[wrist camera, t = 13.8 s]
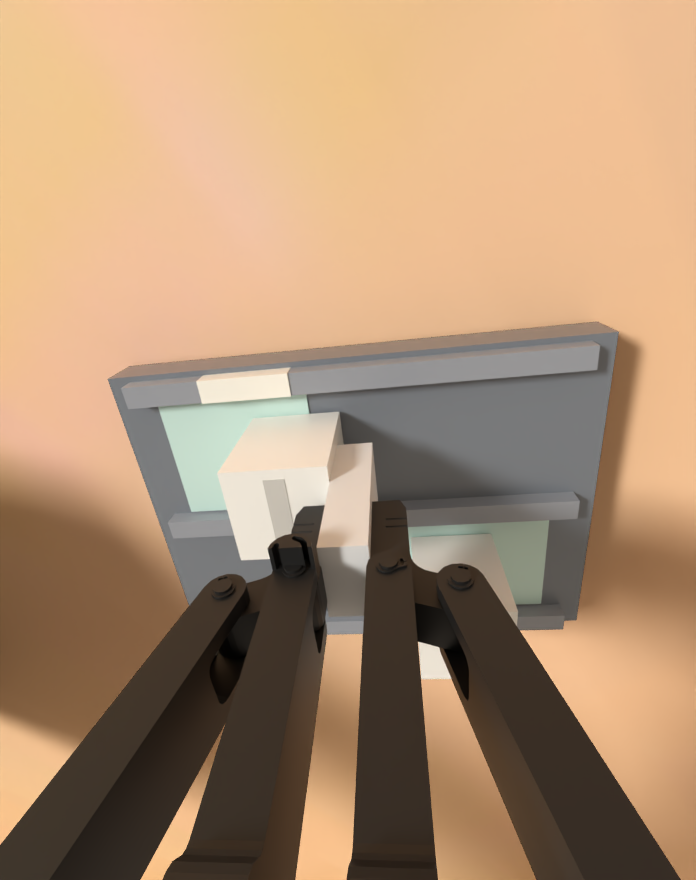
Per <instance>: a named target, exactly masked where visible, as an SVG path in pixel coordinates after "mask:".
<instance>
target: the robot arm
mask: <svg viewBox="0 0 696 880" xmlns="http://www.w3.org/2000/svg"><path fill="white" fill-rule="evenodd" d="M293 525H294V526H293V528H292V531H291V534H288V535H284V536H281V537H279V538H277V539H276V540H274V541H273V542H272V543H271V544H270V545H269V547H268V553H269V557H270V562H271V566H272V570H273V571H272V574H271V575H269V576H267V577H265V578H262V579H259V580H256V581H252V582H249V583H246V580H245V579H244V578H243V577H242V576H240V575H237V574H226V575H222V576H219V577H217V578H215V579H213V580H211V581H210V582H209V583H208V584H207V585H206V586H205V587H204V588H203V589H202V590H201V592H200V593H199V594H198V595H197V597H196V598H195V599H194V601H193V602H192V603H191V604H190V606H189V607H188V608H187V609H186V611H185V612H184V613H183V614H182V616H181V617H180V618H179V620H178V621H177V622H176V623H175V625H174V626H173V627H172V628H171V630H170V631H169V632H168V633H167V635H166V636H165V637H164V639H163V640H162V641H161V642H160V644H159V645H158V646H157V647H156V649H155V650H154V651H153V652H152V654H151V655H150V656H149V658H148V659H147V660H146V661H145V663H144V664H143V665H142V666H141V668H140V669H139V670H138V671H137V673H136V674H135V675H134V676H133V678H132V679H131V680H130V682H129V683H128V684H127V685H126V687H125V688H124V689H123V690H122V692H121V693H120V694H119V695H118V697H117V698H116V699H115V701H114V702H113V703H112V704H111V706H110V707H109V708H108V709H107V711H106V712H105V713H104V714H103V716H102V717H101V718H100V720H99V721H98V722H97V723H96V725H95V726H94V727H93V728H92V730H91V731H90V732H89V733H88V735H87V736H86V737H85V739H84V740H83V741H82V742H81V744H80V745H79V746H78V747H77V749H76V750H75V751H74V752H73V754H72V755H71V756H70V757H69V759H68V760H67V761H66V763H65V764H64V765H63V766H62V768H61V769H60V770H59V771H58V773H57V774H56V775H55V776H54V778H53V779H52V780H51V782H50V783H49V784H48V785H47V787H46V788H45V789H44V790H43V792H42V793H41V794H40V795H39V797H38V798H37V799H36V801H35V802H34V803H33V804H32V806H31V807H30V808H29V809H28V811H27V812H26V813H25V814H24V816H23V817H22V818H21V820H20V821H19V822H18V823H17V825H16V826H15V827H14V828H13V830H12V831H11V832H10V833H9V835H8V836H7V837H6V839H5V840H4V841H3V842H2V844H1V845H0V880H140V879H141V878H142V876H143V874H144V872H145V870H146V868H147V866H148V865H149V863H150V861H151V859H152V857H153V855H154V854H155V852H156V850H157V848H158V846H159V844H160V842H161V841H162V839H163V837H164V835H165V833H166V831H167V830H168V828H169V826H170V824H171V822H172V820H173V818H174V817H175V815H176V813H177V811H178V809H179V807H180V806H181V804H182V802H183V800H184V798H185V796H186V795H187V793H188V791H189V789H190V787H191V785H192V783H193V782H194V780H195V778H196V776H197V774H198V772H199V771H200V769H201V767H202V765H203V763H204V761H205V759H206V758H207V756H208V754H209V752H210V750H211V748H212V747H213V745H214V743H215V741H216V739H217V737H218V736H219V734H220V732H221V730H222V728H223V726H224V724H225V727H224V730H223V733H222V736H221V740H220V743H219V746H218V749H217V753H216V756H215V759H214V762H213V766H212V769H211V772H210V775H209V779H208V782H207V785H206V788H205V792H204V795H203V798H202V801H201V805H200V808H199V811H198V814H197V817H196V821H195V824H194V827H193V830H192V834H191V837H190V840H189V843H188V845H187V848H186V850H185V851H184V853H183V855H181V856H180V857H178V858H177V859H175V860H174V861H172V863H171V865H170V866H169V868H168V869H167V871H166V873H165V875H164V878H163V880H295V877H296V869H297V861H298V854H299V846H300V838H301V830H302V823H303V815H304V807H305V799H306V792H307V784H308V776H309V769H310V761H311V753H312V745H313V738H314V730H315V722H316V714H317V707H318V699H319V691H320V683H321V676H322V668H323V660H324V653H325V645H326V637H327V625H326V619H325V616H326V609H328V615H329V617H341V616H364V624H363V645H362V666H361V687H360V708H359V729H358V750H357V772H356V793H355V814H354V835H353V852H352V859H351V862H350V864H349V867H348V874H347V880H438V876H437V866H436V856H435V845H434V833H433V820H432V808H431V796H430V784H429V772H428V760H427V748H426V736H425V724H424V712H423V700H422V688H421V676H420V664H419V652H418V642H421V643H425V644H429V645H432V646H436V647H439V648H440V653H441V655H442V657H443V660H444V662H445V664H446V667H447V669H448V672H449V674H450V676H451V679H452V681H453V683H454V686H455V688H456V690H457V693H458V695H459V698H460V700H461V702H462V705H463V707H464V709H465V712H466V714H467V716H468V719H469V721H470V724H471V726H472V728H473V731H474V733H475V735H476V738H477V740H478V742H479V745H480V747H481V750H482V752H483V754H484V757H485V759H486V761H487V764H488V766H489V768H490V771H491V773H492V776H493V778H494V780H495V783H496V785H497V787H498V790H499V792H500V794H501V797H502V799H503V802H504V804H505V806H506V809H507V811H508V813H509V816H510V818H511V820H512V823H513V825H514V828H515V830H516V832H517V835H518V837H519V839H520V842H521V844H522V846H523V849H524V851H525V854H526V856H527V858H528V861H529V863H530V865H531V868H532V870H533V872H534V875H535V877H536V880H681V879H680V878H679V876H678V875H677V873H676V872H675V870H674V868H673V867H672V865H671V864H670V862H669V861H668V859H667V858H666V856H665V855H664V853H663V851H662V850H661V848H660V847H659V845H658V844H657V842H656V841H655V839H654V838H653V836H652V834H651V833H650V831H649V830H648V828H647V827H646V825H645V824H644V822H643V821H642V819H641V817H640V816H639V814H638V813H637V811H636V810H635V808H634V807H633V805H632V804H631V802H630V800H629V799H628V797H627V796H626V794H625V793H624V791H623V790H622V788H621V787H620V785H619V783H618V782H617V780H616V779H615V777H614V776H613V774H612V773H611V771H610V770H609V768H608V766H607V765H606V763H605V762H604V760H603V759H602V757H601V756H600V754H599V753H598V751H597V749H596V748H595V746H594V745H593V743H592V742H591V740H590V739H589V737H588V735H587V734H586V732H585V731H584V729H583V728H582V726H581V725H580V723H579V722H578V720H577V718H576V717H575V715H574V714H573V712H572V711H571V709H570V708H569V706H568V705H567V703H566V701H565V700H564V698H563V697H562V695H561V694H560V692H559V691H558V689H557V688H556V686H555V684H554V683H553V681H552V680H551V678H550V677H549V675H548V674H547V672H546V671H545V669H544V667H543V666H542V664H541V663H540V661H539V660H538V658H537V657H536V655H535V654H534V652H533V650H532V649H531V647H530V646H529V644H528V643H527V641H526V640H525V638H524V637H523V635H522V633H521V632H520V630H519V629H518V627H517V626H516V624H515V623H514V621H513V620H512V618H511V616H510V615H509V613H508V612H507V610H506V609H505V607H504V606H503V604H502V603H501V601H500V599H499V598H498V596H497V595H496V593H495V592H494V590H493V589H492V587H491V586H490V584H489V582H488V581H487V579H486V578H485V576H484V575H483V574H482V573H481V572H480V571H479V570H478V569H477V568H475V567H473V566H471V565H467V564H462V563H458V564H450V565H448V566H445V567H443V568H442V569H441V570H440V571H439V572H438V573H436V572H431V571H428V570H424V569H423V568H421V567H419V566H417V565H416V564H415V563H414V562H413V560H412V559H411V555H410V547H409V535H408V523H407V512H406V507H405V506H404V505H403V503H402V502H401V501H400V500H391V501H378V494H377V484H376V474H375V464H374V454H373V444H372V443H359V444H345V445H337V447H336V452H335V457H334V462H333V467H332V472H331V477H330V482H329V487H328V492H327V497H326V502H325V505H320V506H304V507H303V508H302V509H301V510H300V511H299V512H298V514H297V515H296V517H295V521H294V524H293Z"/></svg>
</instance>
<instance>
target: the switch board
mask: <svg viewBox="0 0 696 880" xmlns="http://www.w3.org/2000/svg"><path fill="white" fill-rule="evenodd" d="M618 333H619V332H618V331H616V330H614V329H612V328H610V327H608V326H605V325H603V324H601V323H599V322H589V323H578V324H568V325H557V326H547V327H536V328H526V329H515V330H505V331H494V332H484V333H473V334H463V335H452V336H442V337H431V338H421V339H410V340H400V341H389V342H379V343H368V344H358V345H347V346H337V347H326V348H316V349H305V350H295V351H284V352H274V353H263V354H253V355H242V356H232V357H221V358H211V359H200V360H190V361H179V362H169V363H158V364H148V365H137V366H129V367H128V368H126V369H124V370H122V371H121V372H119V373H117V374H115V375H114V376H112V377H110V378H109V379H108V381H109V384H110V387H111V390H112V392H113V395H114V398H115V401H116V403H117V406H118V409H119V412H120V415H121V417H122V420H123V423H124V426H125V429H126V431H127V434H128V437H129V440H130V442H131V445H132V448H133V451H134V454H135V456H136V459H137V462H138V465H139V467H140V470H141V473H142V476H143V479H144V481H145V484H146V487H147V490H148V492H149V495H150V498H151V501H152V504H153V506H154V509H155V512H156V515H157V518H158V520H159V523H160V526H161V529H162V531H163V534H164V537H165V540H166V543H167V545H168V548H169V551H170V554H171V556H172V559H173V562H174V565H175V568H176V570H177V573H178V576H179V579H180V581H181V584H182V587H183V590H184V593H185V595H186V598H187V601H188V604H189V606H190V604H191V603H192V602H193V601H194V599H195V598H196V597H197V595H198V594H199V593H200V592H201V590H202V589H203V588H204V587H205V586H206V585H207V584H208V583H209V582H210V581H211V580H213V579H215V578H217V577H219V576H222V575H226V574H237V575H240V576H242V577H243V578H244V579H245V580H246V583H249V582H252V581H256V580H259V579H262V578H265V577H267V576H269V575H271V574H272V571H273V570H272V566H271V562H270V559H261V560H241V558H240V555H239V551H238V547H237V544H236V540H235V537H234V533H233V529H232V526H231V522H230V518H229V515H228V511H227V508H226V504H225V500H224V497H223V493H222V489H221V486H220V482H219V479H218V475H217V473H218V471H219V470H220V468H221V467H222V465H223V464H224V462H225V461H226V459H227V458H228V456H229V454H230V453H231V451H232V450H233V448H234V447H235V445H236V444H237V442H238V441H239V439H240V438H241V436H242V435H243V433H244V432H245V430H246V428H247V427H248V425H249V424H250V422H251V421H252V419H253V418H263V417H276V416H289V415H301V414H314V413H327V412H340V420H341V428H342V435H343V443H344V445H345V444H359V443H372V444H373V454H374V464H375V474H376V484H377V494H378V501H391V500H400V501H401V502H402V503H403V505H404V506H405V507H406V512H407V523H408V535H409V547H410V555H411V559H412V549H411V537H428V536H450V535H471V534H491V535H492V538H493V540H494V543H495V546H496V549H497V552H498V555H499V558H500V561H501V564H502V567H503V569H504V572H505V575H506V578H507V581H508V584H509V587H510V590H511V593H512V596H513V599H514V601H515V604H516V607H517V610H518V619H517V627H518V629H519V630H553V629H563V626H564V621H568V620H576V619H577V612H578V605H579V598H580V592H581V585H582V578H583V571H584V564H585V558H586V551H587V544H588V537H589V530H590V524H591V517H592V510H593V503H594V496H595V490H596V483H597V476H598V469H599V462H600V456H601V449H602V442H603V435H604V428H605V422H606V415H607V408H608V401H609V395H610V388H611V381H612V374H613V367H614V361H615V354H616V347H617V340H618ZM325 619H326V625H327V635H330V634H363V624H364V616H341V617H329V615H328V609H326V616H325Z"/></svg>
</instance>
